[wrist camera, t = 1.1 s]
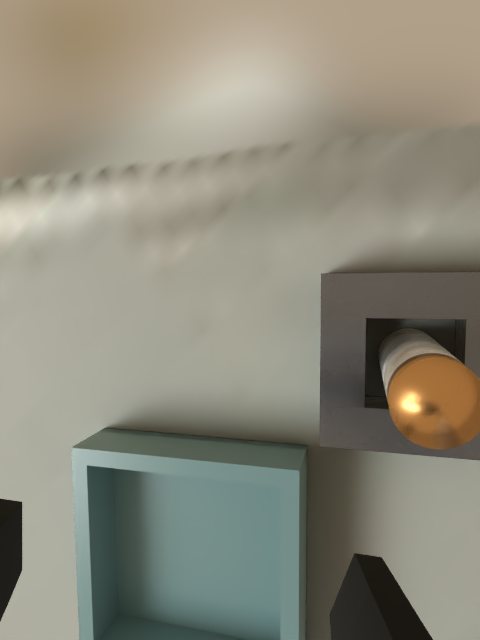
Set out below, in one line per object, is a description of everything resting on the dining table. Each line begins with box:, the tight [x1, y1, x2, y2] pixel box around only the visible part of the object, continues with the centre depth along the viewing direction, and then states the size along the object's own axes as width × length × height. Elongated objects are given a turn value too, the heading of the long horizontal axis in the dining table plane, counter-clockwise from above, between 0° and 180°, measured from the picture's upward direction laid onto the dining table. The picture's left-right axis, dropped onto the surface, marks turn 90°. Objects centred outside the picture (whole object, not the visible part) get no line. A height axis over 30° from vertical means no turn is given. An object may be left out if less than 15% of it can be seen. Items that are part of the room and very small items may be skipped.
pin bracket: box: [320, 272, 480, 460], centre depth 19 cm, size 8×8×2 cm
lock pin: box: [378, 328, 480, 450], centre depth 17 cm, size 3×3×8 cm
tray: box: [71, 428, 307, 640], centre depth 22 cm, size 11×11×3 cm
